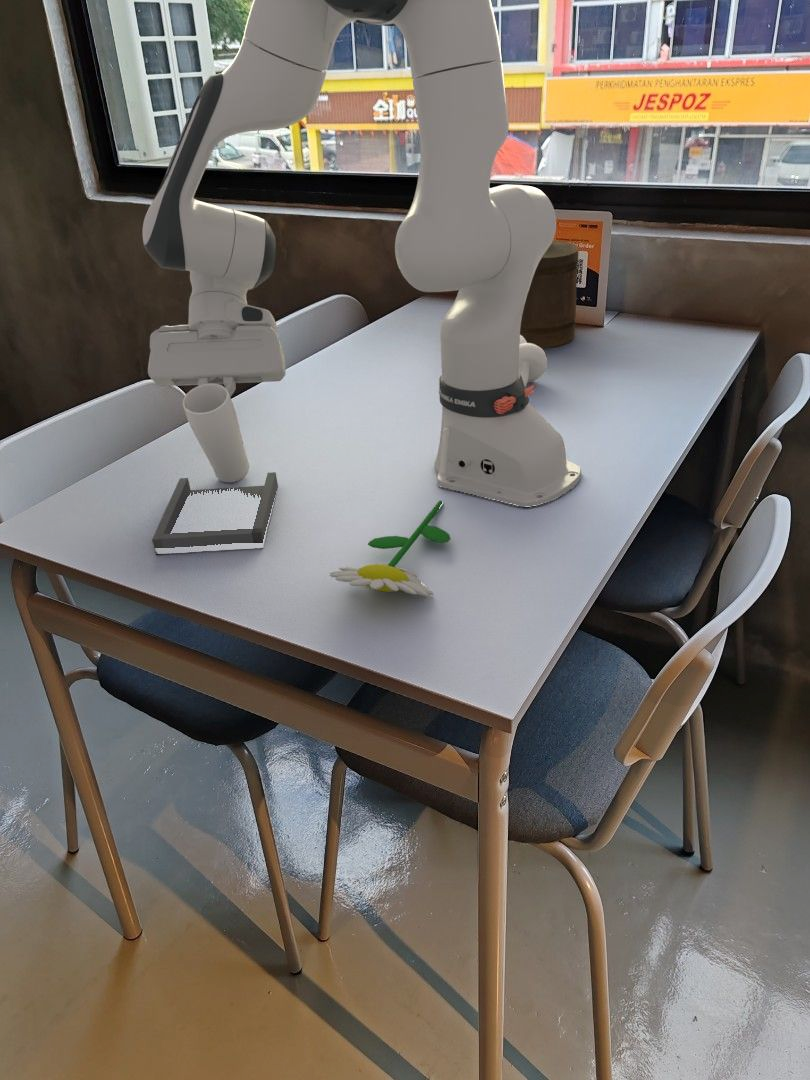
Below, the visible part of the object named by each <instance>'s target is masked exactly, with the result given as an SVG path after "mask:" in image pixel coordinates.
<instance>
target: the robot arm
mask: <svg viewBox="0 0 810 1080" xmlns="http://www.w3.org/2000/svg"><path fill="white" fill-rule="evenodd" d="M492 5H493V4H492V1H491V0H252V4H251V6H250V11H249V13H248V18H247V21H246V24H245V28H244V33H243V37H242V41H241V43H240V47H239V50H238V52H237V54H236V55H235V56H234V58H233V60H232V62H231V63H230V64H228V66H227V67H226V68H225V70H223V71H222V72H221V73H215V74H212V75H209V77H208V78H207V79H206V80H205V82H204V83H203V85H202V86H201V88H200V90H199V92H198V94H197V96H196V99H195V100H194V103H193V105H192V107H191V110H190V112H189V114H188V116H187V119H186V122H185V124H184V126H183V129H182V132H181V133H180V136H179V139H178V140H177V144H176V146H175V149H174V152H173V154H172V155H171V159H170V161H169V165H168V166H167V169H166V171H165V173H164V176H163V178H162V181H161V184H160V186H159V188H158V190H157V191H156V194H155V196H154V198H153V200H152V202H151V203H150V205H149V207H148V210H147V212H146V214H145V216H144V219H143V225H142V246H143V247H144V250H145V251H146V252H147V254H148V255H149V256H150V258H151V259H152V260H153V261H154V262H155V263H156V264H157V265H158V266H159V268H161V269H167V270H174V271H182V272H185V271H188V272H189V281H190V284H191V293H190V296H189V300H188V324H178V325H177V324H176V325H171V326H169V325H162V326H160V327H159V328H157V329H156V330H154V331H153V332H152V333H151V334H150V336H149V349H150V353H149V359H148V364H147V365H148V366H147V374H148V376H149V377H150V379H151V380H152V381H153V382H154V384H156V385H157V386H158V387H177V386H200V385H203V384H209V383H214V384H219V385H224V387H225V388H226V389H227V390H228V393H229V395H230V397H232V396H233V394H234V393H235V391H236V389H237V388H236V387H237V386H236V385H237V384H245V383H267V382H268V383H269V382H270V383H271V382H274V383H275V382H281V381H282V380H283V379H284V377H286V375H287V373H286V359H285V353H284V349H283V347H282V346H283V345H282V343H281V341H280V338H279V335H278V334H279V333H278V326H277V322H276V320H275V318H274V316H273V314H272V313H271V311H269V310H268V309H265V308H262V307H257V306H254V305H249V304H248V301H247V293H248V291H249V290H254V289H255V288H258V287H259V286H260V285H261V284H263V282H265V281H267V280H268V279H269V278H270V276H271V275H272V273H273V271H274V268H275V263H276V251H277V250H276V248H277V247H276V245H277V243H276V237H275V234H274V232H273V230H272V228H271V226H270V225H269V223H268V222H267V220H266V219H265V218H262V217H260V216H257V215H254V214H251V213H247V212H244V211H241V210H236V209H233V208H231V209H230V208H227V207H222V206H219V205H215V204H212V203H207V202H205V201H200V200H198V199H196V198H194V197H195V195H196V191H197V190H198V187H199V185H200V182H201V180H202V177H203V175H204V173H205V171H206V168H207V166H208V164H209V161H210V158H211V156H212V154H213V152H214V150H215V148H216V147H217V146H218V145H219V144H220V143H221V142H222V141H223V140H225V139H227V138H229V137H231V136H234V135H238V134H242V133H248V132H249V133H250V132H259V131H273V130H274V131H275V130H280V129H284V128H286V127H290V126H293V125H295V124H297V123H299V122H300V121H302V120H303V119H305V118H306V117H307V116H309V114H310V113H311V112H312V111H313V110H314V108H315V105H316V104H317V101H318V99H319V97H320V95H321V91H322V88H323V85H324V82H325V79H326V76H327V73H328V69H329V65H330V61H331V57H332V53H333V50H334V47H335V44H336V41H337V38H338V37H339V35H340V33H341V32H342V30H343V29H344V28H345V26H347V25H348V24H350V23H353V22H355V23H356V24H364V25H378V26H383V27H384V26H385V27H396V28H398V30H399V31H400V33H401V34H402V36H403V39H404V42H405V45H406V49H407V53H408V59H409V64H410V73H411V79H412V85H413V86H412V87H413V93H414V99H415V101H414V102H415V108H416V115H417V125H418V126H417V127H418V133H419V145H420V147H419V148H420V155H419V156H420V160H419V169H418V170H419V171H418V177H417V182H416V183H417V184H416V188H415V192H414V196H413V201H412V202H411V205H410V208H409V210H408V213H407V214H406V215H405V218H404V219H403V220H402V221H401V223H400V225H399V227H398V228H397V231H396V236H395V242H394V254H395V259H396V263H397V267H398V268H399V271H400V273H401V274H402V276H403V278H404V279H405V280H406V281H407V282H408V284H409V285H411V286H412V287H413V288H414V289H416V290H418V291H420V292H424V293H442V292H443V293H444V292H452V291H453V292H454V291H458V292H457V295H456V297H455V299H454V302H453V304H452V306H451V307H450V308H449V309H448V311H447V312H446V314H445V316H444V317H443V320H442V322H441V324H440V329H439V330H440V331H439V333H440V338H439V339H440V354H441V355H440V360H441V363H440V364H441V375H440V377H439V379H438V381H439V383H438V385H439V386H438V387H439V388H438V394H439V402H440V404H441V406H442V407H441V409H442V412H441V414H442V415H441V425H440V427H441V428H440V437H439V443H438V444H439V445H438V450H437V454H436V458H435V461H434V469H435V471H436V473H437V480H436V484H437V486H438V487H439V486H441V487H440V488H442V487H444V488H443V489H446V488H449V489H448V490H450V489H452V490H451V491H454V490H457V491H456V492H458V491H461V492H460V493H462V492H465V493H464V494H466V493H470V494H474V495H478V496H481V497H480V498H482V497H487V498H490V499H495V500H499V501H503V502H507V503H512V504H516V505H519V506H524V507H525V506H533V505H538V504H541V503H545V502H548V501H551V500H553V499H555V498H557V497H559V496H561V495H562V494H564V495H565V494H567V493H568V492H569V490H570V489H571V490H572V489H573V488H575V485H576V486H577V485H578V483H579V482H580V480H581V478H582V468H581V466H580V465H578V464H575V463H574V462H572V461H570V460H568V459H567V454H566V447H565V446H566V445H565V441H564V439H563V436H562V434H560V433H559V432H558V431H557V430H556V429H555V428H554V427H553V425H551V424H550V423H549V421H548V420H546V419H545V418H544V417H543V416H542V414H540V412H539V411H537V410H536V409H535V407H534V406H533V405H531V403H530V402H529V400H530V399H529V396H530V395H532V394H534V393H535V390H534V388H535V387H536V386H535V384H532V385H530V386H529V387H525V385H524V382H523V380H522V377H521V374H520V373H519V345H520V327H521V319H522V314H523V310H524V305H525V302H526V298H527V295H528V291H529V288H530V285H531V282H532V279H533V276H534V273H535V271H536V268H537V266H538V264H539V262H540V260H541V258H542V256H543V255H544V253H545V252H546V250H547V249H548V248H549V246H550V245H551V243H552V241H554V238H555V236H556V231H557V230H556V229H557V216H556V212H555V209H554V206H553V203H552V202H551V200H550V199H549V197H548V196H547V195H546V194H545V193H544V192H543V191H542V190H541V189H539V188H537V187H534V186H530V185H523V184H501V185H498V186H493V187H490V186H491V185H490V184H491V176H492V171H493V166H494V163H495V159H496V156H497V154H498V152H499V151H500V149H501V148H502V146H504V144H505V142H506V140H507V138H508V134H509V127H510V125H509V116H508V113H509V112H508V106H507V96H506V86H505V78H504V69H503V62H502V60H503V59H502V51H501V45H500V37H499V31H498V27H497V21H496V18H495V12H494V9H493V6H492ZM571 490H570V491H571ZM567 491H568V492H567ZM566 492H567V493H566ZM470 494H469V495H470ZM474 495H473V496H474ZM478 496H477V497H478ZM562 496H563V495H562ZM562 496H561V497H562ZM559 498H560V497H559ZM490 499H489V500H490ZM557 499H558V498H557ZM555 500H556V499H555ZM553 501H554V500H553ZM551 502H552V501H551ZM548 503H549V502H548Z"/></svg>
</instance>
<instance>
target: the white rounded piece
mask: <svg viewBox="0 0 810 1080" xmlns="http://www.w3.org/2000/svg"><path fill="white" fill-rule="evenodd" d="M547 366H548V358H547V356H546V353H545V351H544V350H543V348H540V347H539V346H537V345H535V344H531V343H527V342H526V340H525V338H524V337H523V336H521V335H520V345H519V373H520V374H521V377H522V380H523V382H524V385H525V388H527V385H528V384H529V383H533V382H535V381H537V380H538V379H539V378H541V377H542V376H543V375H544V373H545V372H546V369H547Z"/></svg>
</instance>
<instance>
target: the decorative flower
mask: <svg viewBox="0 0 810 1080" xmlns="http://www.w3.org/2000/svg"><path fill="white" fill-rule="evenodd" d="M442 501H443V500H438V502H437V503H436V505H435V506H434V507H433V508H432V509H431V511H429V513H428V514H427V516H426V517H425V518H424V519H423V521H422V522H421V523H420V524H419V526H418V527H417V528H416V529H415V530H414V532H413V533H412V534H411V536H410V537H407V536H406V537H405V536H399V535H389V536H381V537H376V538H375V537H374V538H373V539H371V540H370V541H368V543H367V546H370V548H375V549H379V550H380V549H381V550H387V549H396V548H400V549H399V550H398V552H397V553H396V554H395V555H394V556H393V558H392V559H391V561H390V562H389V563H388V564H380V563H379V564H377V563H375V564H368V565H364V566H361V567H359V568H357V567H348V566H347V567H346V566H345V567H343V566H341V567H338V570H337V571H332V572H329V575H328V576H329V577H331V578H334V580H335V581H339V582H343V583H344V582H345V583H348V585H350V586H353V587H354V586H355V587H362V586H363V587H366V588H368V589H371V590H374V591H376V592H377V591H378V592H385V593H387V592H388V593H391V592H394V593H395V592H398V591H403V592H405V593H407V594H410V595H417V594H418V595H421V596H423V597H430V595H434V594H435V593H433V591H432V590H431V589H429V588H428V587H427V588H426V587H425V586H423V585H422V584H421V581H422V580H421V579H419V578H417V576H418V575H417V574H416V573H415V572H413V571H412V570H409V569H406V568H402V567H398V566H397V565H398V563H399V562H400V561H401V559H402V558H403V557H404V556H405V554H407V552H408V551H409V549H410V548H411V547H412V545H413V544H414V543H415V542H416V541H417V540H418V537H420V535H422V536H423V537H424V538H426V539H429V540H431V541H432V542H437V543H440V544H441V543H442V544H443V543H448V542H449V541H450V540H451V535H450V534H449V533H448V532H447V531H446V530H444V529H442V528H440V527H438V526H436V525H431V524H430V523H431V522H432V520H433V519H434V517H435V516H436V515H437V513H438V512H439V511H440V510H439V507H440V505H441V504H442ZM438 510H439V511H438ZM437 511H438V512H437ZM429 524H430V525H429ZM396 566H397V567H396Z"/></svg>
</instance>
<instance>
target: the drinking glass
mask: <svg viewBox="0 0 810 1080" xmlns="http://www.w3.org/2000/svg"><path fill="white" fill-rule="evenodd" d="M231 397H232V396H231ZM231 397H230V395H229V393H228V390H227V389H226V388H225V385H224V386H223V384H214V383H209V384H203V385H200V386H198V385H196V386H195V387H193V388H192V389H190V390H189V391H188V392H187V393H186V394H185V396H184V397H183V399H182V407H183V410H184V414H185V415H186V419H187V421H188V424H189V426H190V428H191V430H192V432H193V434H194V436H195V438H196V439H197V442H198V443H199V444H200V447H201V449H202V450H203V453H204V454H205V457H206V458H207V460H208V462H209V464H210V466H211V468H212V469H213V472H214V474H215V477H216V478H217V479H218V480H219V481H221V482H223V483H226V482H227V483H228V482H229V483H228V484H231V483H230V482H233V483H237V482H239V481H241V480H242V479H244V478H245V477H247V475H248V474H249V471H250V464H249V460H248V457H247V453H246V450H245V446H244V441H243V437H242V433H241V428H240V424H239V419H238V416H237V412H236V409H235V406H234V403H233V401H232V400H233V399H232V398H231ZM236 481H237V482H236Z"/></svg>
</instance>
